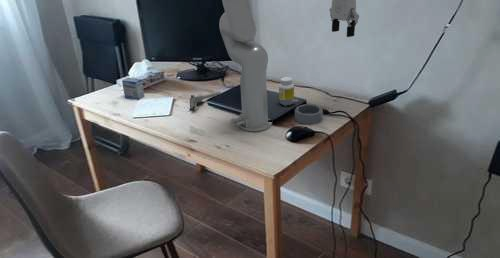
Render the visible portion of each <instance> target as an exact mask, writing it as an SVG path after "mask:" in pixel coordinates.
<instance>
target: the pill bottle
mask: <svg viewBox="0 0 500 258" xmlns="http://www.w3.org/2000/svg"><path fill="white" fill-rule="evenodd" d="M278 95H279V96H278V99H280V100H291V99H293V98H294V99H295V84H294V83H293V78H292V77H291V76H286V77H285V76H284V77H281V78H280V83H279V85H278Z"/></svg>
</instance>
